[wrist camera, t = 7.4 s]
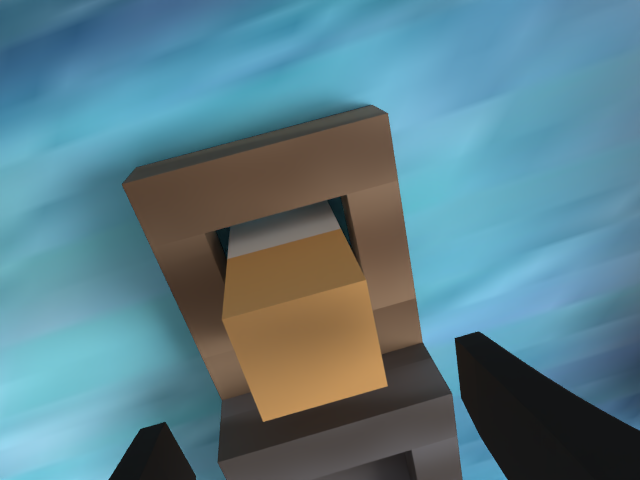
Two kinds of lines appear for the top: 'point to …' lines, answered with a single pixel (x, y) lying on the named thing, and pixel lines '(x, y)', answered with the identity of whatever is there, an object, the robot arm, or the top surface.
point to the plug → (299, 312)
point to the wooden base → (375, 262)
